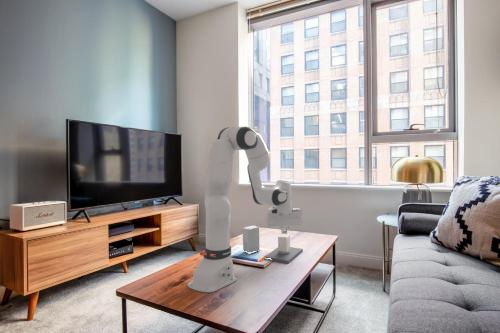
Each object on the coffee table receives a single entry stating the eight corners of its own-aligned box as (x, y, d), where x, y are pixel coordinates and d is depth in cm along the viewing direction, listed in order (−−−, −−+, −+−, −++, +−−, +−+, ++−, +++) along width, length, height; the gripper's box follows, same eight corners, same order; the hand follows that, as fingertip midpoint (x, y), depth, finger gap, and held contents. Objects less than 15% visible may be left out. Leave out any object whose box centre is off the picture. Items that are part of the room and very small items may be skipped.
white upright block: (286, 252, 159) (286, 238, 159) (278, 250, 162) (278, 236, 162) (289, 249, 164) (289, 235, 163) (281, 248, 166) (281, 234, 166)
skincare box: (253, 249, 174) (253, 224, 173) (260, 251, 169) (259, 226, 169) (242, 252, 168) (242, 227, 168) (248, 255, 164) (248, 229, 163)
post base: (288, 263, 150) (288, 245, 150) (264, 259, 157) (264, 241, 156) (302, 251, 169) (302, 235, 169) (280, 247, 176) (280, 232, 176)
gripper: (300, 207, 166) (300, 231, 167) (265, 208, 164) (265, 233, 165) (303, 209, 160) (304, 234, 160) (266, 210, 158) (267, 236, 158)
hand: (284, 233), depth 162 cm, fingers closed
